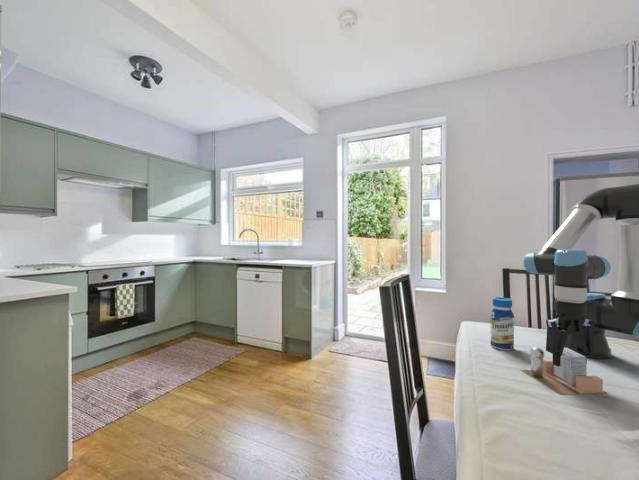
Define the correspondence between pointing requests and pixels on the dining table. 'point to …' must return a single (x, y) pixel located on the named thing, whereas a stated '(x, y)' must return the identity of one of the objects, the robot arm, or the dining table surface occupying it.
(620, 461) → the dining table surface
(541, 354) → the light bulb
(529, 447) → the dining table surface
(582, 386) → the end holder
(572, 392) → the board
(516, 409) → the dining table surface
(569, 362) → the medicine box
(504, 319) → the beverage bottle
